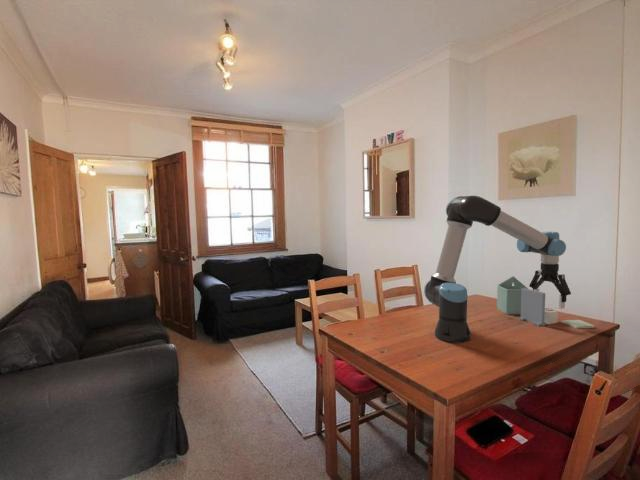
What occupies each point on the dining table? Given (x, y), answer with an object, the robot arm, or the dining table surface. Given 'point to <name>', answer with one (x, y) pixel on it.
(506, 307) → the planter
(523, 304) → the board
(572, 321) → the pad
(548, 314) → the letter cube
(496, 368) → the dining table surface
